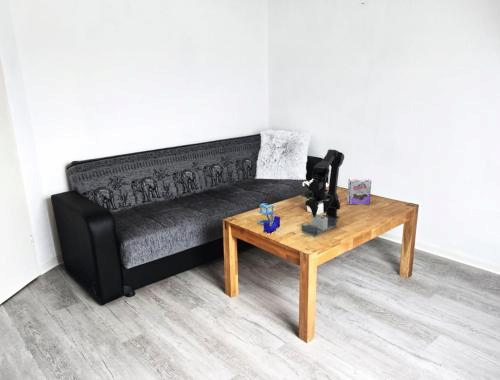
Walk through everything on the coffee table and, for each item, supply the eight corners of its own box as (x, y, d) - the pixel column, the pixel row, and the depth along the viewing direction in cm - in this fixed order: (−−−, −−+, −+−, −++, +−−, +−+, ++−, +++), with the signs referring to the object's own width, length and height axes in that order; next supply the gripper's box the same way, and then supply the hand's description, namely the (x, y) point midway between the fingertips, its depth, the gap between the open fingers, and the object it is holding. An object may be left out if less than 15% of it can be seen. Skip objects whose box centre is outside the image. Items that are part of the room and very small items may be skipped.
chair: (276, 222, 237) (276, 203, 234) (266, 226, 231) (266, 206, 228) (267, 219, 242) (267, 200, 239) (256, 223, 237) (256, 203, 234)
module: (315, 224, 230) (316, 214, 228) (327, 228, 224) (327, 217, 222) (311, 226, 227) (311, 216, 225) (322, 230, 221) (323, 219, 220)
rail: (323, 222, 236) (323, 214, 234) (336, 226, 229) (336, 218, 228) (301, 232, 222) (301, 223, 221) (314, 236, 216) (314, 227, 215)
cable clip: (270, 234, 221) (270, 223, 220) (263, 232, 224) (263, 222, 222) (282, 227, 230) (282, 217, 229) (275, 225, 233) (275, 215, 231)
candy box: (348, 205, 265) (349, 180, 260) (346, 202, 271) (348, 178, 266) (369, 204, 265) (371, 180, 260) (367, 202, 270) (369, 178, 266)
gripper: (319, 181, 231) (318, 207, 235) (297, 188, 218) (297, 215, 223) (335, 185, 223) (334, 212, 227) (314, 192, 210) (313, 220, 215)
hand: (319, 214), depth 223 cm, fingers open, 9 cm apart
